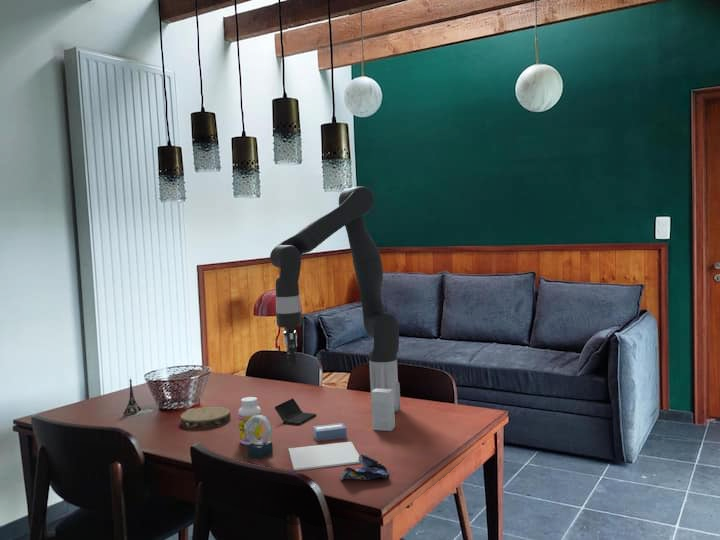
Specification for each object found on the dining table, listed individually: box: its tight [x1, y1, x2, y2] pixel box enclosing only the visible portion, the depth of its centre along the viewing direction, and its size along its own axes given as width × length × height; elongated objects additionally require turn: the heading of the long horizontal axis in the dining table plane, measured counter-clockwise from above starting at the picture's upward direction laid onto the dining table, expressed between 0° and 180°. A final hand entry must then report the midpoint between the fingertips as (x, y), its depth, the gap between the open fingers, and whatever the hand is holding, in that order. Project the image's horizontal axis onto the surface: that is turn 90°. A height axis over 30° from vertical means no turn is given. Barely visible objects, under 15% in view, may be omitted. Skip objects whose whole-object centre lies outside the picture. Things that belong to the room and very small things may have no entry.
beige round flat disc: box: [180, 406, 231, 429], centre depth 212 cm, size 16×16×3 cm
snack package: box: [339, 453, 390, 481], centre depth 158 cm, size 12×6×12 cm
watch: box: [244, 414, 274, 460], centre depth 177 cm, size 6×8×11 cm
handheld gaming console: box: [274, 398, 317, 426], centre depth 209 cm, size 12×7×10 cm
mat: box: [287, 441, 361, 472], centre depth 174 cm, size 18×16×1 cm
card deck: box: [312, 422, 348, 442], centre depth 190 cm, size 9×5×3 cm, turn 104°
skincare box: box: [370, 388, 396, 432], centre depth 195 cm, size 6×4×12 cm
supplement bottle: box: [237, 396, 263, 446], centre depth 189 cm, size 7×7×13 cm
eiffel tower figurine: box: [116, 377, 154, 421], centre depth 226 cm, size 15×10×13 cm
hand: (291, 363), depth 196 cm, fingers open, 8 cm apart
